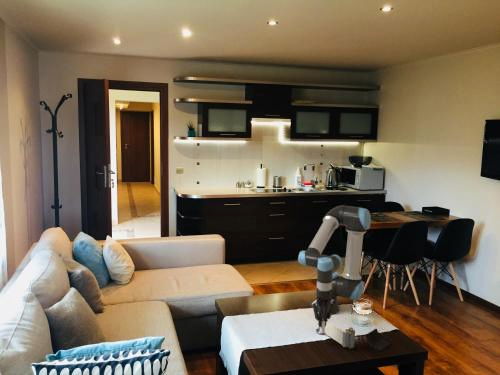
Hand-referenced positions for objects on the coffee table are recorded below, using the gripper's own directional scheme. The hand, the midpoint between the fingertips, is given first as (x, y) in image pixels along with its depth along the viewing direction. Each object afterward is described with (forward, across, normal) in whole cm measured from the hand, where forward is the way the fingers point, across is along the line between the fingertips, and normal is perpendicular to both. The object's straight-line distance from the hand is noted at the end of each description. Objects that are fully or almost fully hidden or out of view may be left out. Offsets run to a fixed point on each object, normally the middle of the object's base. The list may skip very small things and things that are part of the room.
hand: (321, 331), depth 212 cm
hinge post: (+7, +6, +11) cm, 14 cm away
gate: (+6, +9, 0) cm, 10 cm away
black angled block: (+8, +28, -8) cm, 30 cm away
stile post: (+7, +13, -6) cm, 16 cm away
